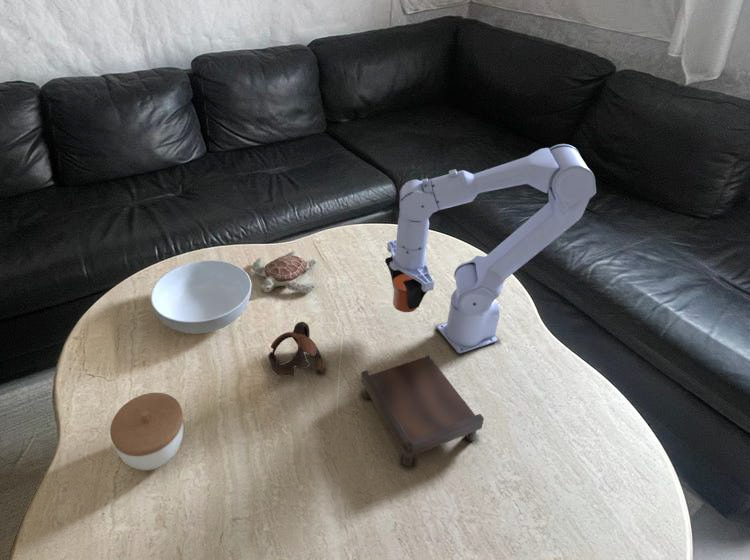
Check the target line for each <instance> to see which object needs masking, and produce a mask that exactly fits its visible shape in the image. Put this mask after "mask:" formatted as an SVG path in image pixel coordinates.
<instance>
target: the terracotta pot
mask: <svg viewBox="0 0 750 560" xmlns="http://www.w3.org/2000/svg"><path fill="white" fill-rule="evenodd" d="M411 279H413V278H411V277H410V276H408V275H406V274H400V275H397V276H396V277H395V278H394V280H393V283H392V287H393V286H394V288H393V296H392V305H393V307H394V308H395V309H396V310H397V311H399V312H402V313H412V312H415V311H416V310H417V309H418V308H414V309H409V308H408V303H407V290H406V287H405V285H404V283H403V282H404V281H407V280H411Z"/></svg>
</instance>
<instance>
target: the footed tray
mask: <svg viewBox="0 0 750 560" xmlns="http://www.w3.org/2000/svg"><path fill="white" fill-rule="evenodd" d="M360 382H361V385H363V388H364V389H363V397H364V398H365V399H371V401H372V402H373V404H374V406H375V408H376V409H377V411H378V412H379V415H380V417H381V418H382V419H383V421H384V423H385V424H386V426H387V428H388V430H389V432H390V433H391V435H392V436H393V438H394V439H395V442H396V443H397V445H398V446H399V448H400V450H401V451H402V453H403V458H402V464H403V465H404V467H411V466H412V465H413V457H415V456H416V455H418V454H421V453H425V452H427V451H428V450H430V449H434V448H436V447H439V446H442V445H444V444H446V443H448V442H451V441H454V440H456V439H459V438H461V437H463V436H465V438H466V440H467V441H469V442H473V441H475V440H476V435H477V431H479V430H481V429H483V424H484V420H485V418H484V416H483V415H482V413H478V414H475V413H474V411H473V410H472V409H471V408H470V406H469V405H468V404H467V402H466V401H465V400H464V399H463V397H462V396H461V394H459V392H458V391H457V389H455V387H454V386H453V384H452V383H451V382H450V381H449V379H448V377H446V375H445V374H444V373H443V371H442V370H441V369H440V368H439V366H438V365H437V364H436V363H435V362H434V360H433V359H432V357H430V355H426V356H423V357H420V358H419V357H418V358H417V359H416V358H415V359H413V360H411V361H407V362H404V363H402V364H401V363H400V364H398V365H395V366H392V367H388V368H386V369H383V370H380V371H377V372H373V373H369V372H368V370H363V371H361V378H360Z"/></svg>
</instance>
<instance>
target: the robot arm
mask: <svg viewBox="0 0 750 560" xmlns="http://www.w3.org/2000/svg"><path fill="white" fill-rule="evenodd" d="M522 185H528V186H530V187H533V188H535V189H537V190H539V191H541V192H542V193H545V194H548V202H547V203H546V204H545V205H543V206H542V207H541V208H540V209H538V211H537V212H536V213H534V214H533V215H532V216H531V217H529V219H528V220H526V221H525V222H523V224H522V225H520V226H519V227H518V228H517V229H516V230H514V231H513V232H512V233H511V234H510V235H509V236H508V237H506V238H505V239H504V240H503V241H501V242H500V243H499V244H498V245H497V246H496V247H495V248H493V249H492V250H491V251H490V252H489V253H488V254H486V255H485V256H484V255H483V256H482V255H475V257H474V258H472V259H471V260H468V261H465V262H463V263H460V264H459V265H457V267H456V268H455V270H454V273H453V278H454V280H455V289H454V291H453V292H452V294H451V297H450V304H449V310H448V316H447V322H446V323H443V324H440V325H437V330H438V332H439V333H440V334H441V335H442V336H443V337H444V338H445V340H446V341H447V342H448V343H449V345H451V347H452V348H453V349H454V350H455V351H456V352H457V354H463V353H466V352H469V351H472V350H475V349H477V348H481V347H484V346H487V345H490V344H493V343H497V342H498V337H497V336H496V333H497V329H498V325H499V320H500V312H501V311H500V307H499V304H498V302H497V300H496V299H498V298H499V297H500V295H501V293H502V289H503V286H504V283H505V281H506V280H507V279H508V278H509V277H511V275H513V274H514V273H515V272H517V271H518V270H519V269H520V268H522V267H523V266H524V265H526V264H527V263H528V262H529V261H530V260H532V259H533V258H534V257H536V255H538V254H539V253H540V252H541V251H543V250H544V249H545V248H546V247H547V246H549V245H550V244H551V243H552V242H553V241H555V240H556V239H557V238H558V237H560V236H561V235H563V233H565V232H566V231H567V230H569V229H570V228H571V227H572V226H573V225H575V224H576V223H577V222H579V221H580V220H581V218H582V217H583V215H584V213H585V211H586V208H587V206H588V204H589V201H590V199H591V198H593V197H594V196H595V195H596V194H597V186H596V177H595V175H594V173H593V171H592V170H591V169H590V168H589V167H588V166H587V164H586V162H585V161H584V159H583V158H582V156H581V154H580V152H579V150H578V149H577V148H576V147H574V146H573V145H570V144H568V143H567V144H566V143H560V144H556V145H553V146H551V147H543V148H540V149H538V150H535V151H534V152H532V153H530V154H529V155H527V156H524V157H521V158H518V159H515V160H511V161H509V162H506V163H503V164H500V165H497V166H494V167H490V168H488V169H485V170H482V171H479V172H476V173H471V172H469V171H467V170H464V169H461V170H459V171H458V170H457V169H455V168H454V169H451V170H449V171H448V173H447V174H444V175H441V176H437V177H434V178H430V179H429V178H428V177H426V178H423V179H421V180H419V179H411V180H408V181H406V182H405V183H404V184H403V185H402V187H401V188H400V190H399V210H398V211H399V212H398V220H397V227H396V228H397V229H396V240H391V241H388V242H387V245H386V249H387V251H388V252H389V253H390V254H391V255H390V256H389V257H386V258H384V259H385V260H384V262H385V264H386V266H387V269H388V271H389V274H390V277H391V278H390V279H391V282H392V284H393V280H394V278H395V277H396V276H397V275H400V274H406V275H408V276H410V277H411V278H413V279H411V280H407V281H404V282H403V283H404V285H405V287H406V290H407V303H408V308H409V309H414V308H417V309H418V308H419V307H420V305H421V303H422V301H423V299H424V297H425V295H426V294H427V293H428V292H430V291H433V290H434V288H435V280H434V279H433V278H432V276H431V273H430V271H429V267H428V264H427V260H426V255H427V249H428V248H427V247H428V238H429V229H430V220H429V219H430V217H431V216H432V215H433V214H434V213H436V212H438V211H441V210H445V209H448V208H453V207H457V206H460V205H464V204H469V203H472V202H473V201H474V200H475V199H476V197H477V196H478V195H479V194H481V193H486V192H491V191H497V190H501V189H507V188H513V187H516V186H517V187H518V186H522ZM392 288H393V289H394V286H393V285H392Z"/></svg>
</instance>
